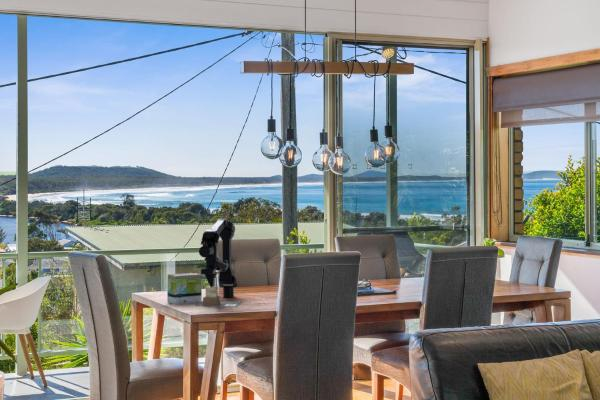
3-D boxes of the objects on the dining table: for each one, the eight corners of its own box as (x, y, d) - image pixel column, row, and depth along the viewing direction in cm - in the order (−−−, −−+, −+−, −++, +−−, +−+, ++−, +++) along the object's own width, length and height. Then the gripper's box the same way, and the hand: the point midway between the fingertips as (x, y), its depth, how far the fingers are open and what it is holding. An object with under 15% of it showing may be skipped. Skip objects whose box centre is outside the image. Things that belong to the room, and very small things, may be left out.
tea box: (176, 305, 428) (175, 275, 427) (167, 302, 436) (166, 274, 435) (202, 302, 436) (202, 273, 436) (192, 300, 445) (192, 272, 444)
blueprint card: (227, 304, 424) (227, 303, 424) (237, 304, 424) (237, 303, 424) (224, 306, 418) (224, 305, 418) (234, 306, 418) (234, 305, 418)
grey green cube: (208, 295, 426) (208, 286, 426) (217, 296, 426) (217, 286, 425) (205, 297, 421) (205, 287, 421) (215, 297, 421) (215, 287, 420)
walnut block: (206, 303, 428) (206, 295, 427) (220, 303, 427) (220, 295, 426) (203, 305, 421) (203, 297, 421) (216, 305, 420) (216, 297, 419)
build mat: (202, 302, 436) (202, 301, 436) (243, 303, 432) (243, 301, 432) (193, 307, 420) (193, 305, 420) (236, 307, 417) (236, 306, 416)
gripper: (222, 257, 412) (222, 289, 413) (231, 253, 431) (231, 284, 431) (200, 257, 414) (200, 289, 415) (210, 253, 433) (210, 284, 433)
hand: (211, 286), depth 423 cm, fingers closed
